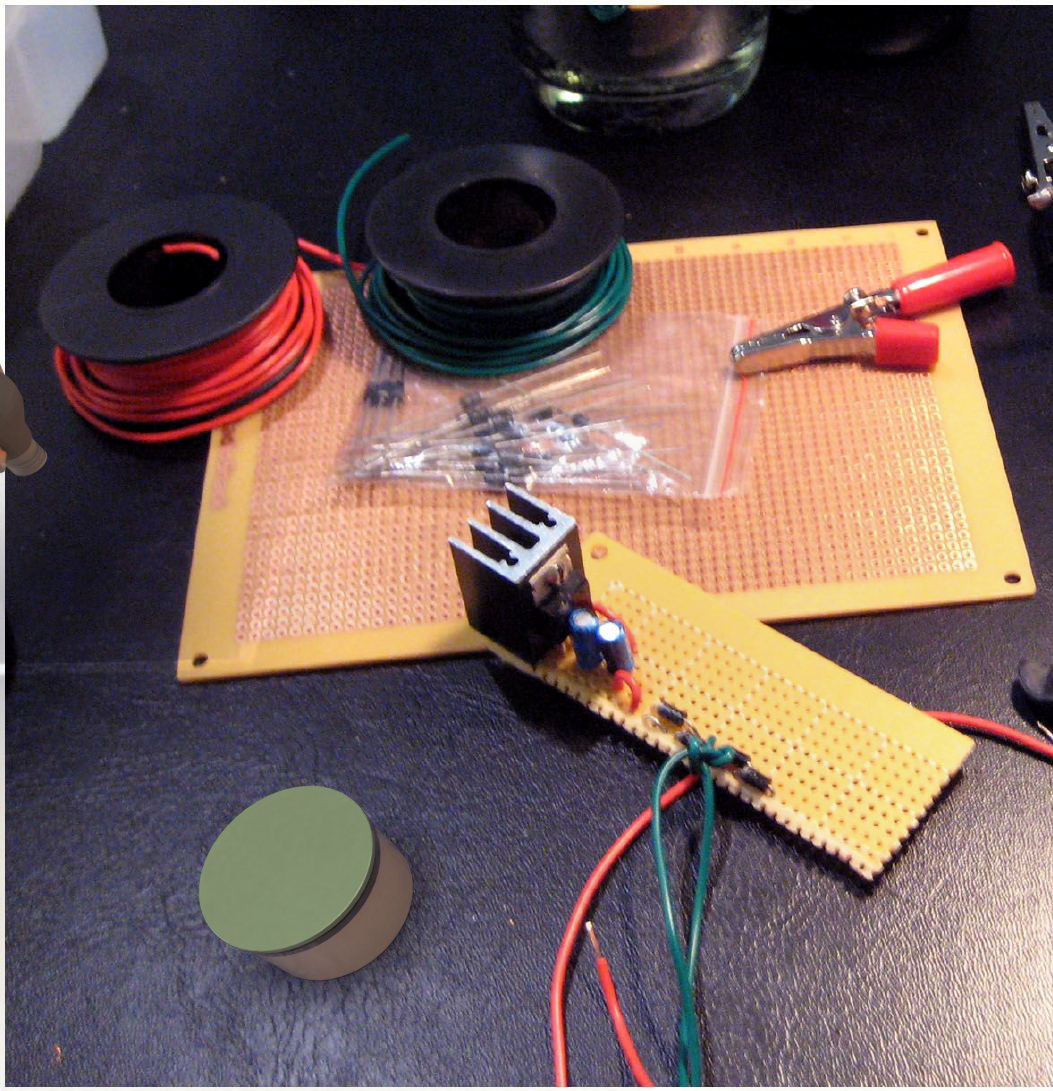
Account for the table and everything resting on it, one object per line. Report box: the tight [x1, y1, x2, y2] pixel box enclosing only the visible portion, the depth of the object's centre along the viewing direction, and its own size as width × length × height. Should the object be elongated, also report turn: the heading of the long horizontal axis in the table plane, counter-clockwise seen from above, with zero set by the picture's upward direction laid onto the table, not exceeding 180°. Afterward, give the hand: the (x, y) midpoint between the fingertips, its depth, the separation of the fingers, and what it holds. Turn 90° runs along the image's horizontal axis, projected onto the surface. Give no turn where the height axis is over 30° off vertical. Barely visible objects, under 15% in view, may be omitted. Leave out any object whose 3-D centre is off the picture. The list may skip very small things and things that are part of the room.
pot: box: [198, 785, 414, 981], centre depth 86 cm, size 12×12×9 cm
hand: (2, 435), depth 88 cm, fingers closed on light bulb, 5 cm apart
